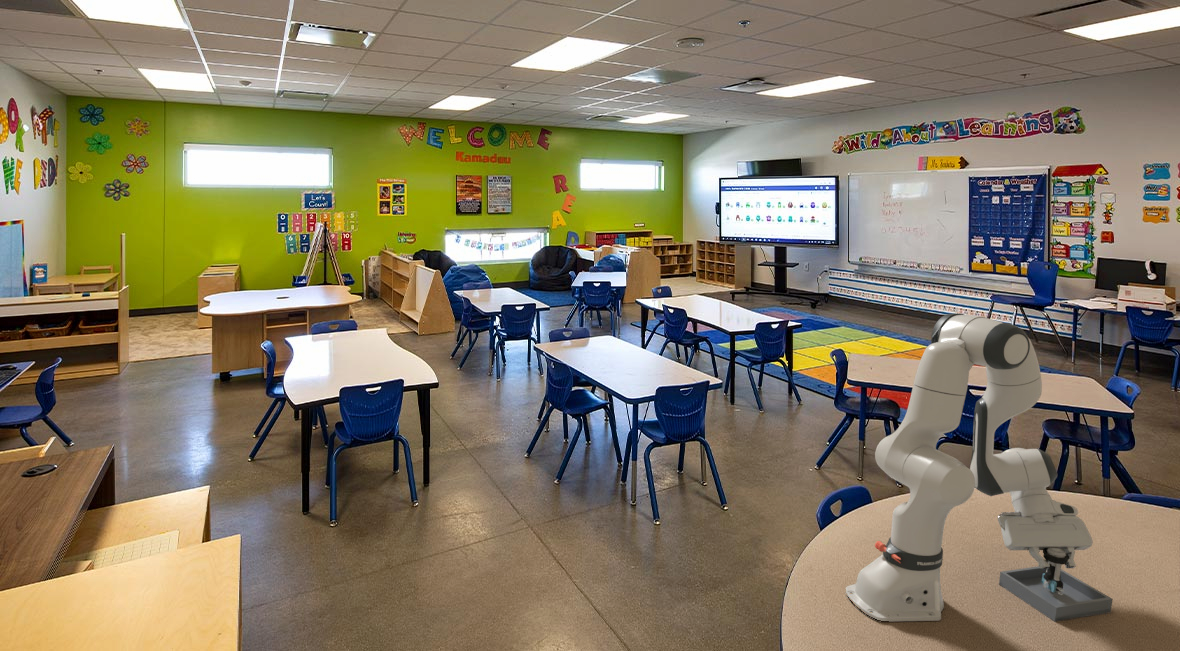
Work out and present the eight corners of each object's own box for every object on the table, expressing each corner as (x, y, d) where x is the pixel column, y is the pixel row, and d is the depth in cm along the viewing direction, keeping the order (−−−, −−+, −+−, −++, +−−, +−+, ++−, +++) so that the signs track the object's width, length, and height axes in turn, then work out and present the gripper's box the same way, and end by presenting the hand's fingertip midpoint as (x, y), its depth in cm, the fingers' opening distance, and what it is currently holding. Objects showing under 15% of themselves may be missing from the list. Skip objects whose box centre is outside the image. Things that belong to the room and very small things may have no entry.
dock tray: (1054, 621, 155) (1056, 607, 154) (998, 584, 170) (1000, 571, 170) (1110, 612, 158) (1112, 598, 158) (1051, 576, 174) (1052, 564, 173)
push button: (1072, 597, 161) (1079, 558, 159) (1049, 596, 161) (1055, 557, 159) (1055, 582, 167) (1060, 545, 166) (1033, 581, 167) (1038, 543, 166)
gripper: (1001, 507, 168) (1022, 564, 160) (1082, 507, 168) (1107, 563, 160) (989, 516, 173) (1008, 571, 165) (1068, 516, 173) (1091, 571, 165)
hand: (1058, 567), depth 162 cm, fingers open, 5 cm apart
